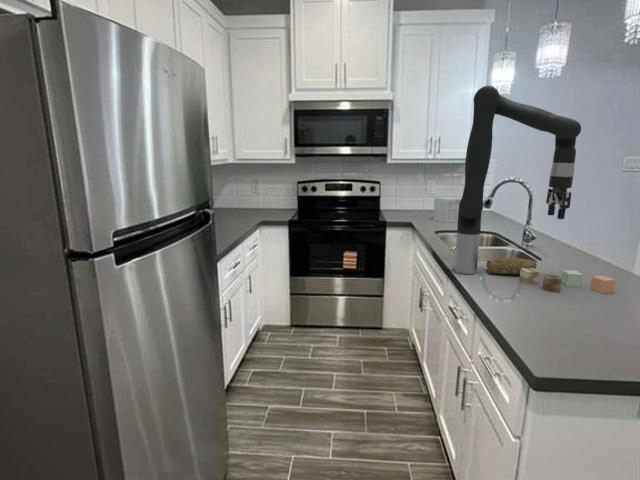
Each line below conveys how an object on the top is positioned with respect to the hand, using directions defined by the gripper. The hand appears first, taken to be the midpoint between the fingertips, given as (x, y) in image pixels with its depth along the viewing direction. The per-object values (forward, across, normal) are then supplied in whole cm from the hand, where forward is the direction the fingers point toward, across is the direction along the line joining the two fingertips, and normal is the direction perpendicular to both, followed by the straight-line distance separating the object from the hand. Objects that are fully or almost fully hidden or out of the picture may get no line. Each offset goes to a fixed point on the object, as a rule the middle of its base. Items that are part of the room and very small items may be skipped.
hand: (555, 217), depth 149 cm
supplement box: (+26, -135, -17) cm, 138 cm away
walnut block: (+26, +11, -3) cm, 28 cm away
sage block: (+26, +4, +7) cm, 27 cm away
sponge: (+26, -8, -11) cm, 30 cm away
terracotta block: (+26, +10, +15) cm, 32 cm away
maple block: (+26, +3, -8) cm, 27 cm away
